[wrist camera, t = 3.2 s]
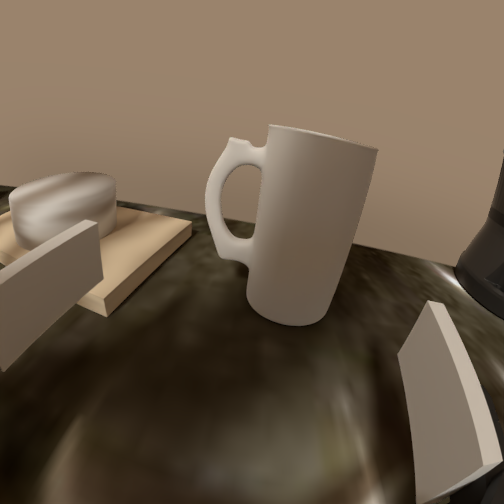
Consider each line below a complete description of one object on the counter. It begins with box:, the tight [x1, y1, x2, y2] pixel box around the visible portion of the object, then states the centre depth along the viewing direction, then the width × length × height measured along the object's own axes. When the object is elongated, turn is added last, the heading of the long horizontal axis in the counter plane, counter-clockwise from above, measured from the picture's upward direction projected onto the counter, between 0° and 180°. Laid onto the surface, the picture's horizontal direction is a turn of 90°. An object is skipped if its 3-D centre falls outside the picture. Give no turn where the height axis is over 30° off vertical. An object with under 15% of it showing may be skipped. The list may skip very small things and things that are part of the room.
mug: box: [205, 124, 378, 326], centre depth 19 cm, size 10×7×12 cm, turn 87°
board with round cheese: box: [0, 172, 192, 317], centre depth 23 cm, size 22×14×6 cm, turn 77°
